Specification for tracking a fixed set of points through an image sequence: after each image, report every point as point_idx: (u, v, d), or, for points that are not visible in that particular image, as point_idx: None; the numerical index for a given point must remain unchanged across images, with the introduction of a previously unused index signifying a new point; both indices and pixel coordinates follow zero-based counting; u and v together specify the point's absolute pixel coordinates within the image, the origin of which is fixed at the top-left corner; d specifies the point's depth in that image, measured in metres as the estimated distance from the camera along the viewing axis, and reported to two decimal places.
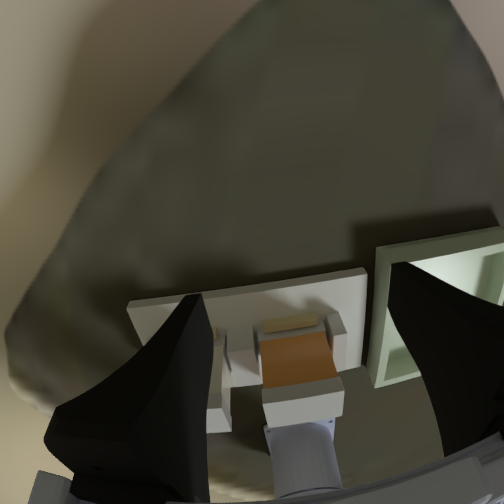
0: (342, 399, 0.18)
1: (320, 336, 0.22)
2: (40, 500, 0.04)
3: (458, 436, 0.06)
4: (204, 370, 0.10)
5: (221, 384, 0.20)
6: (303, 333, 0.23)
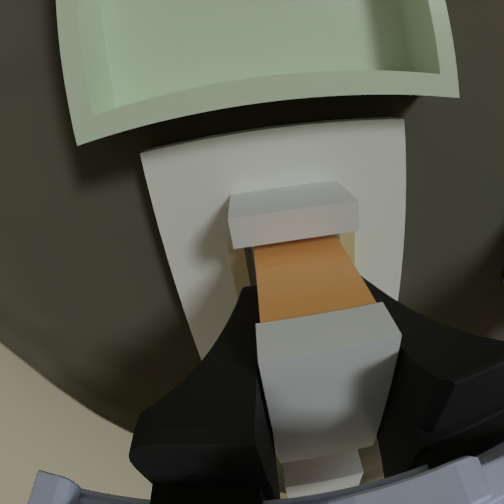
0: (307, 356, 0.06)
1: None
2: (40, 500, 0.04)
3: (393, 460, 0.06)
4: None
5: None
6: None
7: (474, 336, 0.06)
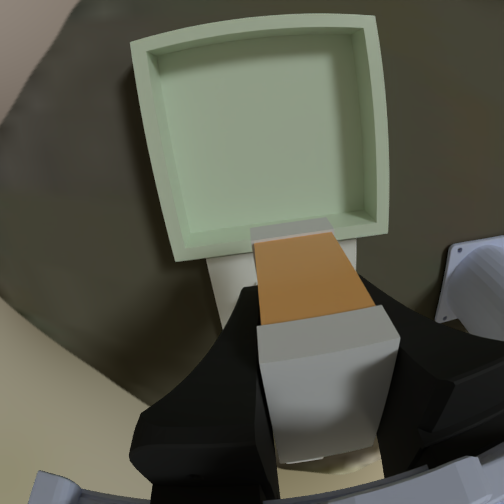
0: (307, 358, 0.06)
1: None
2: (40, 499, 0.04)
3: (393, 460, 0.06)
4: None
5: None
6: None
7: (474, 336, 0.06)
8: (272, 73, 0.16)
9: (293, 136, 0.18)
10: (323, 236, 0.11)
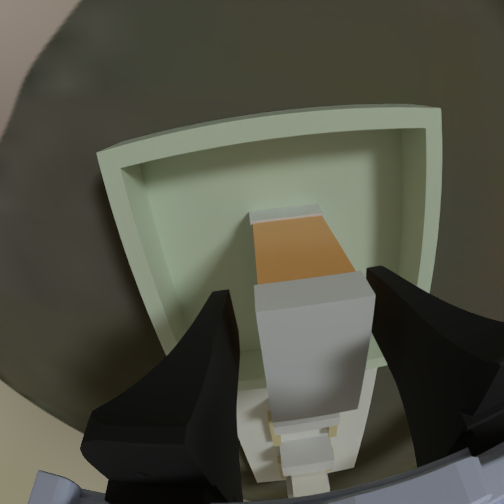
0: (296, 309, 0.08)
1: None
2: (40, 500, 0.04)
3: (429, 448, 0.06)
4: (234, 367, 0.10)
5: None
6: None
7: None
8: (296, 182, 0.13)
9: None
10: (314, 218, 0.12)
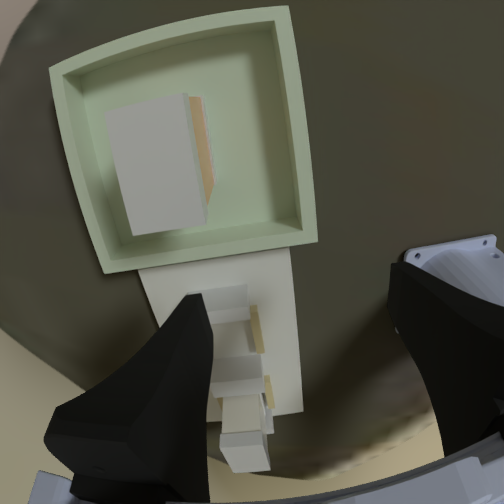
0: (128, 107, 0.10)
1: None
2: (40, 499, 0.04)
3: (458, 436, 0.06)
4: (204, 370, 0.10)
5: (223, 424, 0.21)
6: None
7: None
8: (186, 80, 0.16)
9: (212, 143, 0.17)
10: None
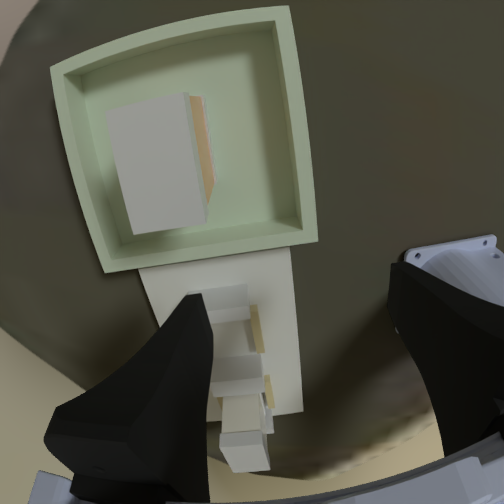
0: (129, 106, 0.10)
1: None
2: (40, 499, 0.04)
3: (458, 436, 0.06)
4: (204, 370, 0.10)
5: (223, 424, 0.21)
6: None
7: None
8: (187, 80, 0.16)
9: None
10: None
